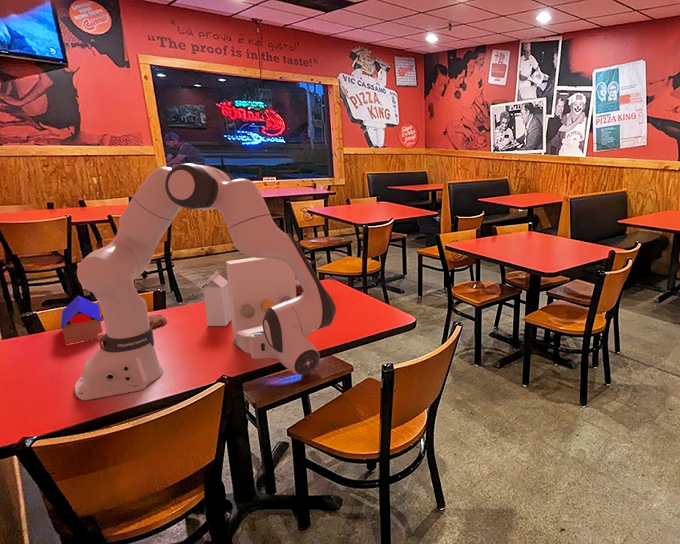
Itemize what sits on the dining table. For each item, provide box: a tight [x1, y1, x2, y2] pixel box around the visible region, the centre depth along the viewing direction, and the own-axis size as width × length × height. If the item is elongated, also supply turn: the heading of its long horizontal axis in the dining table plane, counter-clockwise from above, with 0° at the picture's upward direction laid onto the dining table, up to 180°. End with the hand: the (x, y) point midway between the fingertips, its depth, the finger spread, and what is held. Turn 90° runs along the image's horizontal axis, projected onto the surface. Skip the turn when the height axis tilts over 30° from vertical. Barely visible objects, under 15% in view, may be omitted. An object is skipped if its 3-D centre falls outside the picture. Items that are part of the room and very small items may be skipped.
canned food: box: [295, 279, 304, 297], centre depth 177 cm, size 8×8×11 cm
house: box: [60, 295, 103, 345], centre depth 158 cm, size 12×20×12 cm, turn 30°
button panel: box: [225, 257, 296, 350], centre depth 147 cm, size 22×6×28 cm, turn 120°
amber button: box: [262, 300, 275, 313], centre depth 145 cm, size 4×3×4 cm, turn 121°
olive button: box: [241, 305, 255, 318], centre depth 142 cm, size 4×3×4 cm, turn 120°
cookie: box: [148, 314, 168, 329], centre depth 165 cm, size 10×11×3 cm
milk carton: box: [202, 271, 232, 327], centre depth 162 cm, size 7×7×19 cm
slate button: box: [281, 296, 292, 302], centre depth 149 cm, size 4×3×4 cm, turn 120°
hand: (263, 324), depth 131 cm, fingers closed
